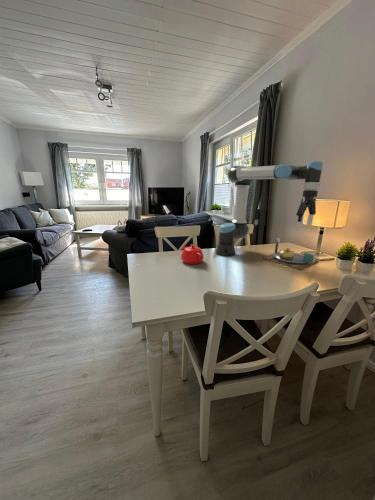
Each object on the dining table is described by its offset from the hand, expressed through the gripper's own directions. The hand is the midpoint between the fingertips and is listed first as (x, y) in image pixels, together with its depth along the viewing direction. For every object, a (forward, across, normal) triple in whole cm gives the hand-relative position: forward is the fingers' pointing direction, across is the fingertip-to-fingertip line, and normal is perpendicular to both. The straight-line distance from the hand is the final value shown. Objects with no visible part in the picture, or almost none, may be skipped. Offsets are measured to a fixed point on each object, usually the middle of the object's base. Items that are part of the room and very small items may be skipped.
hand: (304, 226), depth 130 cm
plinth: (+28, +14, +11) cm, 33 cm away
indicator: (+27, +19, +25) cm, 42 cm away
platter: (+27, +14, +10) cm, 32 cm away
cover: (+25, +7, +11) cm, 29 cm away
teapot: (+28, -47, +51) cm, 75 cm away
